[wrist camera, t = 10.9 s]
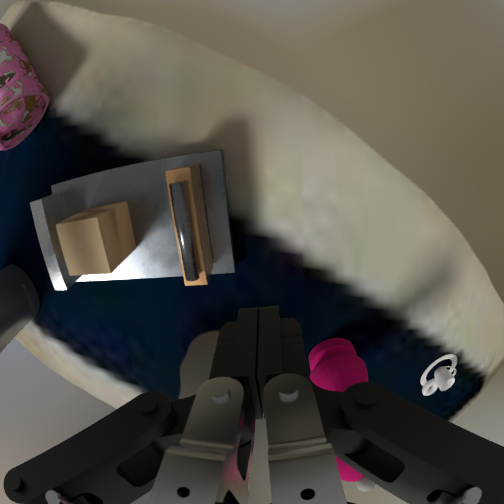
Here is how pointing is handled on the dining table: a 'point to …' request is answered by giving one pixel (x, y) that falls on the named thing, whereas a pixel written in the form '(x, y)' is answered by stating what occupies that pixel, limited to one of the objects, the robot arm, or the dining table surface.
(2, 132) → the pencil case
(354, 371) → the pepper mill
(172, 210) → the sliding jaw
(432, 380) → the white looped part
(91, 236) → the oak block
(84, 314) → the dining table surface
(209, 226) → the vise base
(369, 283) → the dining table surface
